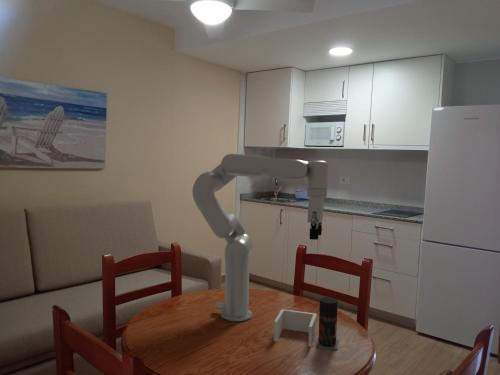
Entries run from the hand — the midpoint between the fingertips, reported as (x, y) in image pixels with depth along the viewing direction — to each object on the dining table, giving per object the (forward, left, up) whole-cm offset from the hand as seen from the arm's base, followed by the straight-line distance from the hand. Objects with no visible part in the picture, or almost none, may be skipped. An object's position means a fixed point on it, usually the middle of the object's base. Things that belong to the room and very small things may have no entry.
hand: (315, 237), depth 151 cm
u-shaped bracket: (-4, -17, -33) cm, 38 cm away
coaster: (+8, -18, -33) cm, 39 cm away
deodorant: (+7, -18, -33) cm, 38 cm away
